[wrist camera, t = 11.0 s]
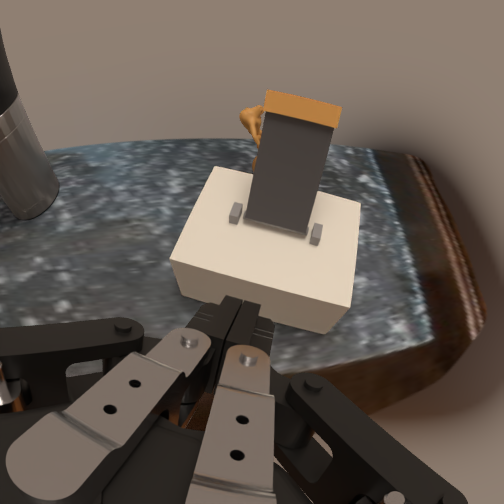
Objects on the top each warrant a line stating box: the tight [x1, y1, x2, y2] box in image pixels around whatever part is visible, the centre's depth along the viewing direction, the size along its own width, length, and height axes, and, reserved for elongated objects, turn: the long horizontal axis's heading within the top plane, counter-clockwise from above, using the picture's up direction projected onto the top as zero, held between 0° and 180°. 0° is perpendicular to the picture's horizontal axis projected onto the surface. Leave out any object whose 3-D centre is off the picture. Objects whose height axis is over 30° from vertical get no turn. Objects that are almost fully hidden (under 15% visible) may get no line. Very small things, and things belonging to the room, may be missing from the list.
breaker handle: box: [243, 90, 342, 236], centre depth 26 cm, size 2×6×12 cm, turn 76°
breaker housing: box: [170, 166, 361, 335], centre depth 32 cm, size 12×16×9 cm
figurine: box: [240, 105, 264, 172], centre depth 38 cm, size 8×6×12 cm
